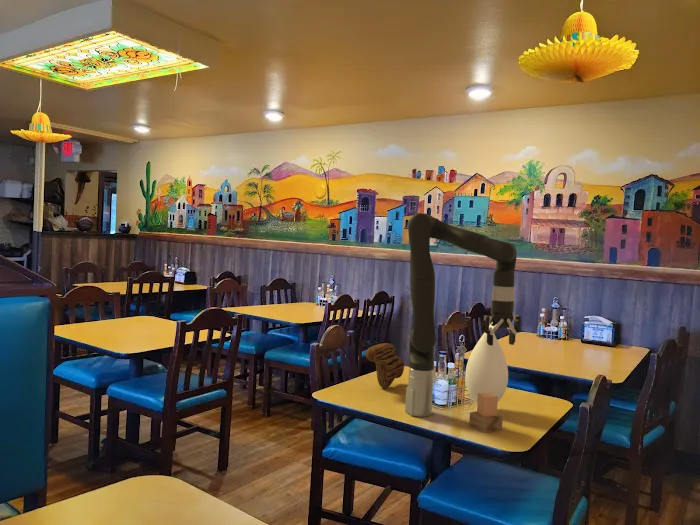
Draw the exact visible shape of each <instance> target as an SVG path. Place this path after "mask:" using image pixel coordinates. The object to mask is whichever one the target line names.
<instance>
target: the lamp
mask: <svg viewBox="0 0 700 525" xmlns="http://www.w3.org/2000/svg"><path fill="white" fill-rule="evenodd" d="M490 324H491V321H490V322H489V326H490ZM492 335H493V345H492V346H490V345H488V343H487V334H486V333H484V332H483V334H482V335H481V337H480V338H479V340H477V343H476V344H475V346H474V347H473V349H472V351H471V353H470V355H469V357H468V360H467V363H466V367H465V374H464V376H465V387H466V389H467V392H468V395H469V396H470V398H471V399H472V401H473V402H475V403H476V404H477V399H478V393H489V392H490V393H492V394H494V395H496V396H498V402H499V401H501V399H502V398H503V397H504V395H505V393H506V392H507V391H506V390H507V388H508V382H509V368H508V362H507V359H506V357H505V353H504V351H503V349H502V347H501V345H500V343H499V340H498V339H497V337H496V335H495V332H494V333H493V334H492ZM476 411H477V406H476V407H475V412H476Z"/></svg>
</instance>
